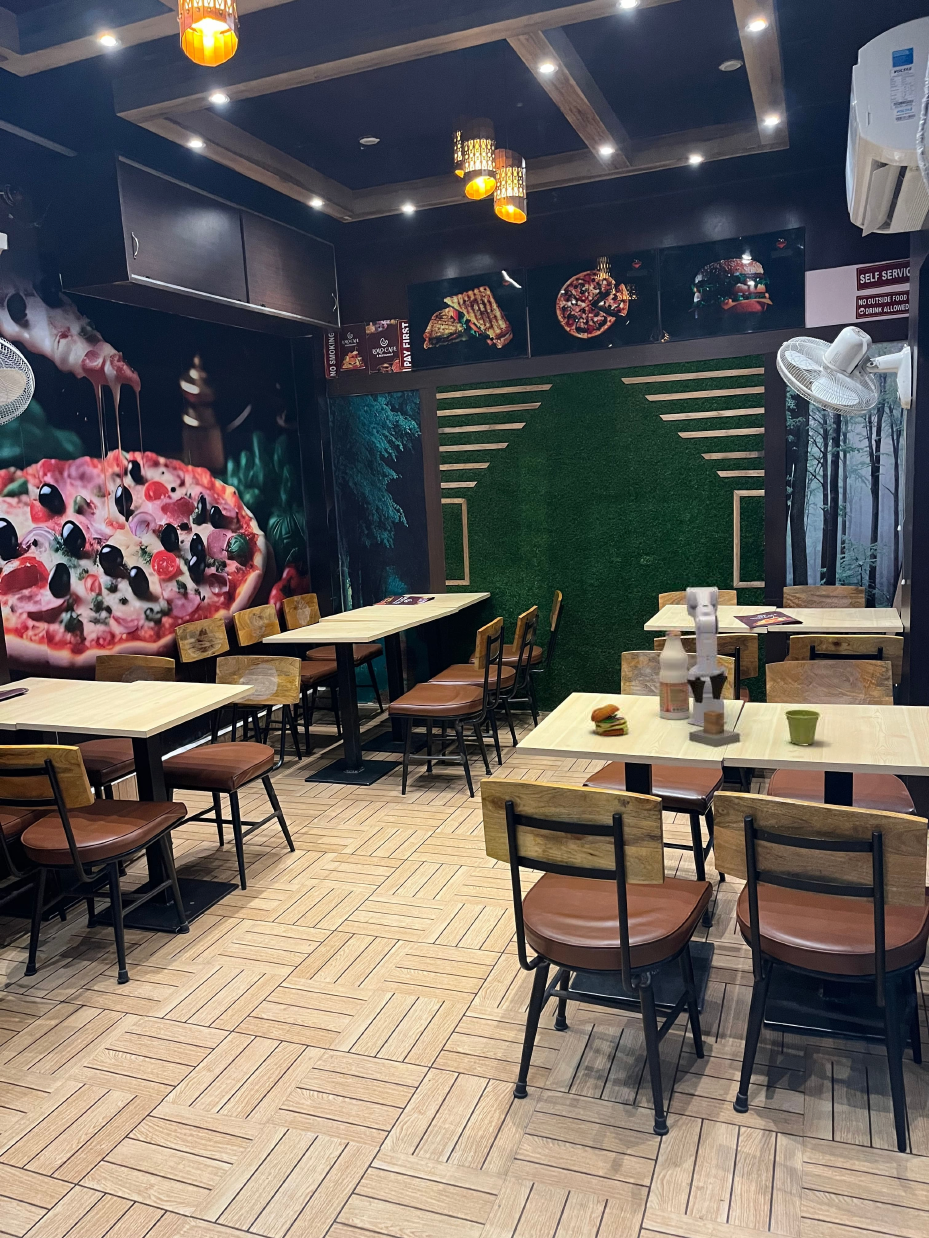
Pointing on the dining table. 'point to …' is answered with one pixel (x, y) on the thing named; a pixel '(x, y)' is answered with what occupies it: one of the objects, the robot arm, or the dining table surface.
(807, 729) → the plant pot
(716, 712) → the walnut block
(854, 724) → the dining table surface
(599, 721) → the cheeseburger
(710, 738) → the slate base
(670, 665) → the fruit juice
